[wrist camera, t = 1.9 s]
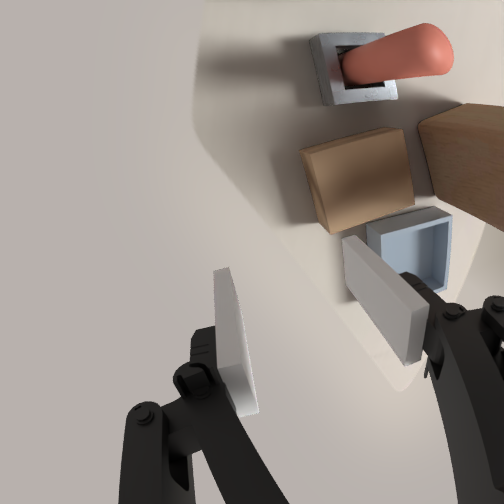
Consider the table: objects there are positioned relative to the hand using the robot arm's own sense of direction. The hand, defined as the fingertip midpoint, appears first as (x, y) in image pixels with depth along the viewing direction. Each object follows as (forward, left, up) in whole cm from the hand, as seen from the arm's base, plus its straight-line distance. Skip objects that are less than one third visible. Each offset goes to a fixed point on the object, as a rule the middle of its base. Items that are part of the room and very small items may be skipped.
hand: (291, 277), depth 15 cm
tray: (+11, +17, -17) cm, 26 cm away
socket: (-11, +12, -17) cm, 24 cm away
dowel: (-11, +12, -17) cm, 24 cm away
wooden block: (-1, +25, -17) cm, 31 cm away
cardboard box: (0, +11, -17) cm, 20 cm away
